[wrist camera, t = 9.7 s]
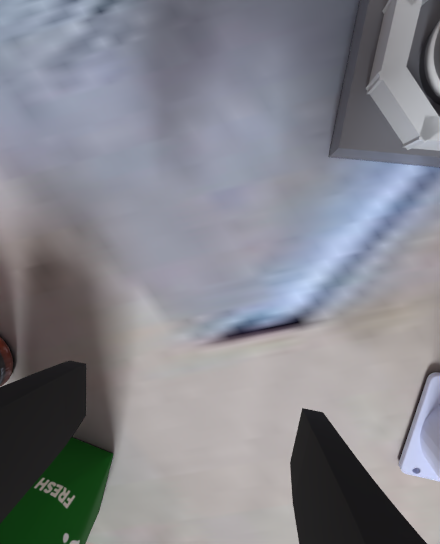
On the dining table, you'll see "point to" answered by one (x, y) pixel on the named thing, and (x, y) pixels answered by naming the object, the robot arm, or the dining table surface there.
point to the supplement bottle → (5, 362)
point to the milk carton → (61, 499)
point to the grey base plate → (388, 87)
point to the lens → (431, 65)
